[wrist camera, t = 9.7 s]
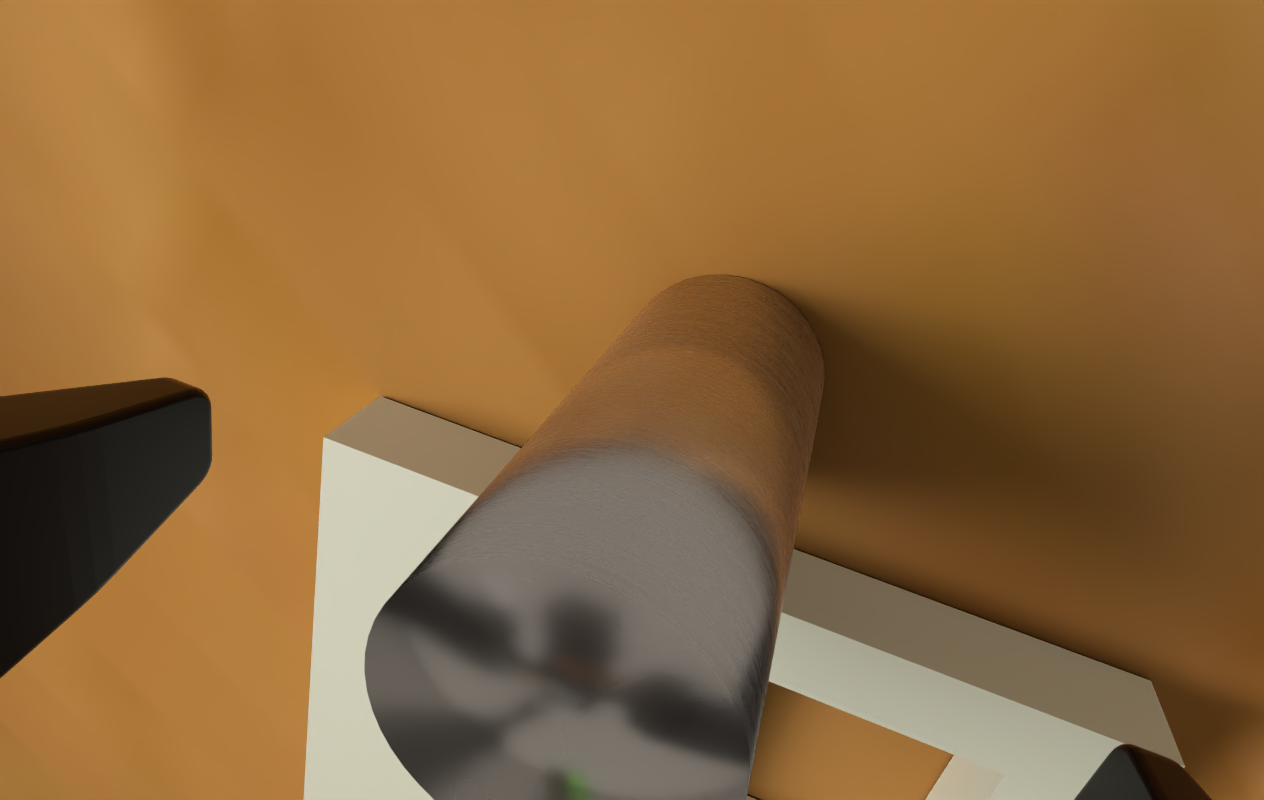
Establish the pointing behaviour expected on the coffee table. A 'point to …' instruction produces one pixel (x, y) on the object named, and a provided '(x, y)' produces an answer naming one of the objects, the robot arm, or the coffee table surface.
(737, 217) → the coffee table surface
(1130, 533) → the coffee table surface
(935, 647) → the board
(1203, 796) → the robot arm
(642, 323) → the pin
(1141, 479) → the coffee table surface
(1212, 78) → the coffee table surface
